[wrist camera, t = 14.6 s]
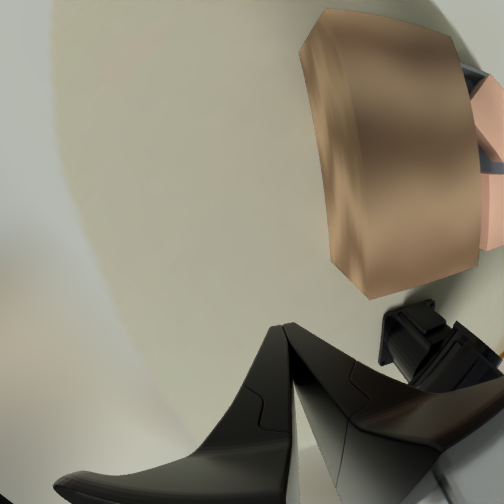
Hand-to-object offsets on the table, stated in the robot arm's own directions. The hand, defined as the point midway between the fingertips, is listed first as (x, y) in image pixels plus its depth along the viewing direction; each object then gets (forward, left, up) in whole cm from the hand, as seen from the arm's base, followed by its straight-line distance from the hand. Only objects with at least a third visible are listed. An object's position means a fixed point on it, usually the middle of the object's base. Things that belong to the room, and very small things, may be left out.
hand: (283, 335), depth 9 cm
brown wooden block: (+6, -11, -12) cm, 17 cm away
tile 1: (+1, -18, -9) cm, 20 cm away
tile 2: (+9, -23, -7) cm, 26 cm away
